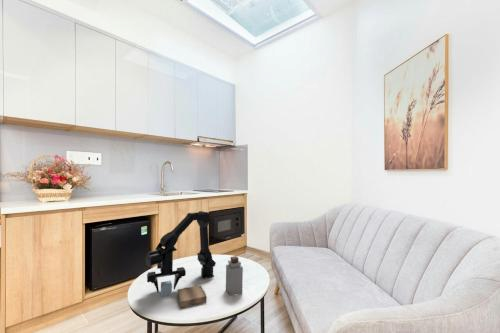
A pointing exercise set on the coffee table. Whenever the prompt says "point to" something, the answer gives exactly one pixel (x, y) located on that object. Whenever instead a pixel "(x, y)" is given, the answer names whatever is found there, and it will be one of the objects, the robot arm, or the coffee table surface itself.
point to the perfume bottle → (234, 276)
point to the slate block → (166, 288)
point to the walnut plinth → (191, 296)
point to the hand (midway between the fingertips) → (166, 290)
